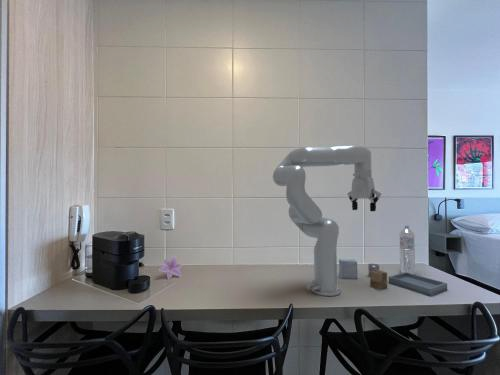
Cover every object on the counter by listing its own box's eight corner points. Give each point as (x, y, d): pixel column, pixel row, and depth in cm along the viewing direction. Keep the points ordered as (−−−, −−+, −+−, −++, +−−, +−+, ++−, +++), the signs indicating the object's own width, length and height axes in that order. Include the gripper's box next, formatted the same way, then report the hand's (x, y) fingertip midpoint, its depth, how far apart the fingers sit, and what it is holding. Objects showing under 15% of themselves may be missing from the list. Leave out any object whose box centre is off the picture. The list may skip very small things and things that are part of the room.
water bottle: (400, 270, 140) (399, 224, 140) (414, 272, 136) (414, 225, 137) (399, 273, 134) (399, 226, 134) (415, 275, 130) (414, 227, 131)
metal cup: (375, 279, 126) (375, 267, 126) (366, 276, 130) (366, 264, 130) (381, 277, 128) (381, 265, 128) (372, 274, 133) (372, 263, 133)
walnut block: (380, 290, 112) (380, 274, 112) (370, 286, 116) (370, 271, 116) (387, 288, 114) (387, 272, 114) (377, 284, 118) (376, 269, 119)
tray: (430, 296, 105) (430, 289, 105) (388, 283, 120) (388, 276, 120) (447, 290, 111) (447, 283, 112) (405, 278, 127) (405, 272, 127)
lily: (154, 282, 125) (160, 267, 123) (158, 266, 136) (163, 252, 133) (178, 286, 129) (184, 272, 126) (180, 271, 140) (185, 257, 137)
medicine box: (354, 276, 130) (354, 259, 130) (357, 279, 126) (357, 261, 126) (338, 275, 131) (338, 258, 131) (341, 278, 127) (341, 261, 127)
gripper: (343, 176, 128) (343, 209, 128) (374, 173, 113) (375, 212, 113) (352, 176, 132) (353, 209, 132) (384, 174, 117) (385, 211, 117)
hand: (363, 210), depth 122 cm, fingers open, 9 cm apart
